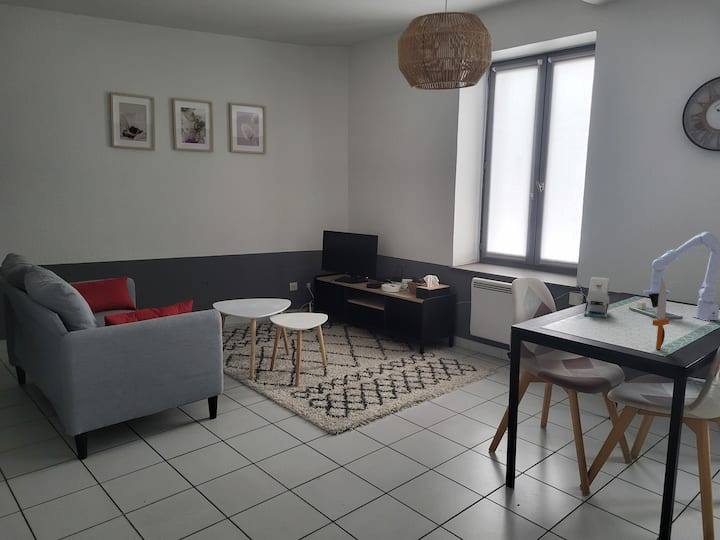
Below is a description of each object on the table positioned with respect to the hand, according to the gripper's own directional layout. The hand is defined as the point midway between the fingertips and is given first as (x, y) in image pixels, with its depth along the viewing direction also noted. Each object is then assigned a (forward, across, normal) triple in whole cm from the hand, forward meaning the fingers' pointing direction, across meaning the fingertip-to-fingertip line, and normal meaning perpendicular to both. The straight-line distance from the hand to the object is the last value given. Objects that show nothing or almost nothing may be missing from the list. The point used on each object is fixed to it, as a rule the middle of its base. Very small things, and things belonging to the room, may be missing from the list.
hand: (654, 307), depth 291 cm
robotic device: (+3, +31, -4) cm, 31 cm away
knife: (+3, +45, +61) cm, 76 cm away
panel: (+3, 0, 0) cm, 3 cm away
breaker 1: (+2, +3, -7) cm, 8 cm away
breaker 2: (+2, +3, +7) cm, 8 cm away
